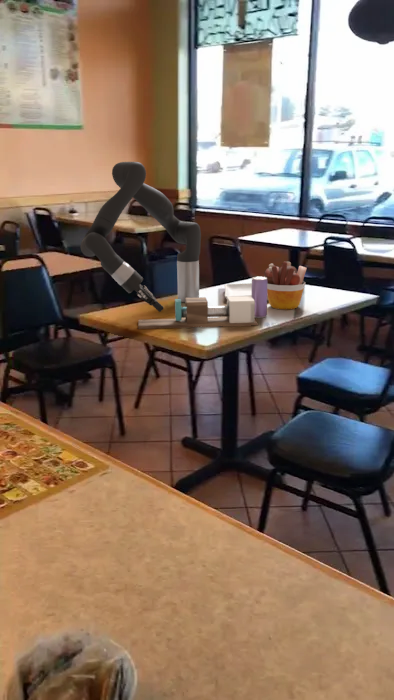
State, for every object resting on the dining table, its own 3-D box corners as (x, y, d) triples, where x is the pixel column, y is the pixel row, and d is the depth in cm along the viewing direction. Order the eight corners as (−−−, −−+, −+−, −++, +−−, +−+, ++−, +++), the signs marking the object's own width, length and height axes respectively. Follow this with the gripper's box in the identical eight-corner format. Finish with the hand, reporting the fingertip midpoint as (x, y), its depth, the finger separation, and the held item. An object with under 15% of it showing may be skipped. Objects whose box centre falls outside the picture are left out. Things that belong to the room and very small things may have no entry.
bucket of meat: (266, 301, 271) (267, 254, 265) (305, 302, 267) (307, 255, 262) (261, 311, 252) (262, 261, 246) (303, 313, 249) (305, 262, 243)
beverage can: (265, 318, 241) (266, 279, 237) (250, 317, 242) (250, 278, 238) (267, 315, 247) (268, 276, 242) (252, 314, 248) (252, 276, 244)
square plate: (224, 291, 295) (224, 283, 294) (283, 291, 294) (283, 283, 293) (224, 303, 269) (224, 294, 268) (289, 303, 268) (289, 294, 267)
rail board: (138, 322, 237) (137, 298, 235) (252, 319, 240) (253, 295, 238) (138, 328, 228) (137, 304, 225) (257, 325, 231) (257, 301, 228)
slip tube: (175, 320, 231) (175, 301, 229) (175, 317, 235) (174, 299, 233) (244, 318, 232) (244, 300, 230) (242, 315, 237) (242, 297, 235)
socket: (226, 317, 239) (226, 296, 237) (250, 317, 239) (250, 296, 237) (229, 323, 231) (229, 301, 228) (254, 322, 231) (254, 300, 229)
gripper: (134, 272, 220) (169, 306, 224) (134, 266, 233) (168, 299, 237) (119, 287, 221) (155, 321, 225) (120, 281, 234) (154, 313, 238)
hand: (161, 309), depth 231 cm, fingers closed
